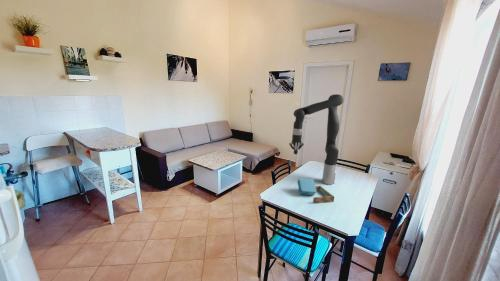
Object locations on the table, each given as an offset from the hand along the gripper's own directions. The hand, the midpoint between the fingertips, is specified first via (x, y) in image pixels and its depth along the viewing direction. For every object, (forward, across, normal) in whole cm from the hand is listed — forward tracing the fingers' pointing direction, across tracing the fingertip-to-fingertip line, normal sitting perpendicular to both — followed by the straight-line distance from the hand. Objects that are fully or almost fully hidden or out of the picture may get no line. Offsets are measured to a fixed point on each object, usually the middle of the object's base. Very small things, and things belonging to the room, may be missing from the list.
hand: (295, 154), depth 168 cm
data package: (+24, -1, +24) cm, 34 cm away
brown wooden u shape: (+26, -8, +25) cm, 37 cm away
